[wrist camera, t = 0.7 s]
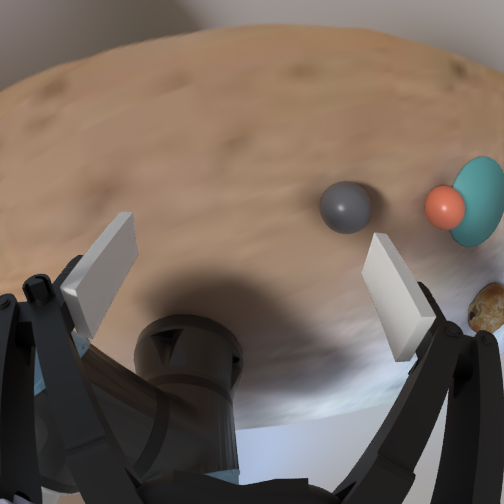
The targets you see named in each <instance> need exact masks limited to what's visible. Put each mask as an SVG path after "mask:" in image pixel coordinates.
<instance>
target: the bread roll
mask: <svg viewBox="0 0 504 504" xmlns="http://www.w3.org/2000/svg"><path fill="white" fill-rule="evenodd" d="M468 311H469V314H468V323H469V326H470V328H471V329H472V330H473V331H474V332H476V333H477V332H478V331H479V330H486V331H488V332H490V333H493V332H495V331H496V330H497V329H499V328H500V327H501V326H502V325H503V324H504V287H503V286H502V285H500V284H498V283H494V284H489V285H488V286H487V287H485V288H484V289H483V290H482V291H481V292H479V294H478V295H477V296H476V297H475V299H474V301H473V302H472V303H471V304H470V306H469V310H468Z"/></svg>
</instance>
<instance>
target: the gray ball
mask: <svg viewBox="0 0 504 504" xmlns="http://www.w3.org/2000/svg"><path fill="white" fill-rule="evenodd" d="M320 212H321V216H322V218H323V220H324V222H325V223H326V225H327V226H328V227H329V228H331V229H332V230H334V231H335V232H338V233H342V234H351V233H355V232H357V231H359V230H361V229H362V228H363V227H364V226H365V225H366V224H367V223H368V221H369V219H370V216H371V212H372V204H371V200H370V197H369V195H368V194H367V192H366V191H365V190H364V189H363V188H362V187H361V186H359V185H358V184H355V183H353V182H348V181H343V182H338V183H335V184H333V185H332V186H330V187H329V188H328V189H327V190H326V191H325V192H324V194H323V196H322V198H321V202H320Z"/></svg>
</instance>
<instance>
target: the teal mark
mask: <svg viewBox="0 0 504 504" xmlns="http://www.w3.org/2000/svg"><path fill="white" fill-rule="evenodd" d="M452 188H454V189H456V190H457V191H458V192H459V193H460V194H461V196H462V198H463V200H464V203H465V215H464V218H463V220H462V222H461V223H460V224H459V225H458V226H457V227H455V228H453V229H451V230H450V231H451V234H452V236H453V237H454V239H455V240H456V241H457V242H458V243H459V244H461V245H463V246H466V247H472V246H476V245H479V244H481V243H482V242H484V241H485V240H486V239H488V238H489V237H490V236H491V234H492V233H493V232H494V231H495V229H496V228H497V226H498V224H499V222H500V220H501V218H502V215H503V212H504V173H503V171H502V169H501V167H500V166H499V164H498V163H497V162H496V161H494V160H493V159H491V158H489V157H478V158H475V159H473V160H471V161H470V162H468V163H467V164H466V165H465V166H464V168H463V169H462V170H461V171H460V173H459V174H458V176H457V178H456V180H455V182H454V184H453V187H452Z"/></svg>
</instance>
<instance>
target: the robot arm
mask: <svg viewBox="0 0 504 504" xmlns="http://www.w3.org/2000/svg"><path fill="white" fill-rule="evenodd" d="M137 256H138V250H137V243H136V235H135V226H134V217H133V212H120V213H119V214H118V215H117V216H116V217H115V218H114V220H113V221H112V222H111V223H110V224H109V225H108V227H107V228H106V229H105V230H104V231H103V233H102V234H101V235H100V236H99V237H98V239H97V240H96V241H95V242H94V243H93V245H92V246H91V247H90V248H89V250H88V251H87V252H86V253H85V255H78V256H77V257H75V258H74V259H72V260H71V261H70V262H69V263H68V265H67V266H66V268H64V270H63V271H62V273H60V275H59V276H58V277H57V279H56V280H55V281H54V283H53V284H52V283H51V280H50V278H49V276H48V275H46V274H37V275H34V276H32V277H30V278H28V279H27V280H26V281H25V282H24V284H23V288H22V289H23V291H24V294H25V296H26V298H27V302H17V300H16V297H15V296H14V295H13V294H11V293H10V294H4V295H1V296H0V504H57V502H58V501H59V499H60V497H61V496H62V495H67V496H68V495H76V494H79V493H80V494H81V496H82V498H83V500H84V501H85V503H86V504H402V502H403V501H404V499H405V497H406V495H407V494H408V492H409V490H410V488H411V486H412V485H413V482H414V480H415V476H416V475H415V474H414V473H413V471H414V468H415V466H416V464H417V462H418V460H419V458H420V456H421V454H422V452H423V450H424V448H425V446H426V444H427V441H428V439H429V437H430V435H431V432H432V430H433V428H434V425H435V423H436V421H437V418H438V415H439V413H440V410H441V407H442V405H443V402H444V400H445V397H446V394H447V391H448V388H449V392H448V405H447V415H446V424H445V432H444V439H443V446H442V453H441V458H440V464H439V469H438V474H437V479H436V483H435V487H434V492H433V495H432V499H431V503H430V504H500V499H501V491H502V482H503V472H504V390H503V378H502V369H501V361H500V354H499V347H498V342H497V340H496V338H495V337H494V335H493V334H492V333H490V332H488V331H486V330H479V331H478V332H477V334H476V335H475V337H471V336H467V335H463V332H462V330H461V328H460V327H459V326H458V325H456V324H455V323H453V322H451V321H447V320H446V318H445V317H444V315H443V313H442V311H441V310H440V308H439V306H438V304H437V303H436V301H435V299H434V297H432V294H431V292H430V291H429V289H428V288H427V287H426V286H425V285H424V284H423V283H422V282H416V280H415V278H414V277H413V275H412V273H411V272H410V270H409V268H408V267H407V265H406V264H405V262H404V260H403V259H402V257H401V256H400V254H399V252H398V251H397V249H396V248H395V246H394V245H393V243H392V242H391V240H390V239H389V237H388V236H387V234H383V233H374V235H373V239H372V242H371V245H370V249H369V252H368V255H367V258H366V261H365V264H364V268H363V271H362V275H363V278H364V280H365V283H366V285H367V288H368V290H369V292H370V295H371V297H372V300H373V302H374V305H375V308H376V310H377V313H378V315H379V318H380V321H381V323H382V326H383V329H384V331H385V334H386V337H387V339H388V342H389V345H390V348H391V351H392V354H393V356H394V359H395V362H404V361H410V360H411V358H412V357H413V355H414V353H415V352H416V355H417V357H418V360H417V361H416V362H415V364H414V365H413V367H412V368H411V370H410V371H409V373H408V374H409V376H408V378H407V380H406V382H405V384H404V386H403V388H402V390H401V392H400V394H399V396H398V397H397V399H396V401H395V403H394V405H393V406H392V408H391V410H390V412H389V414H388V415H387V417H386V419H385V420H384V422H383V424H382V425H381V427H380V429H379V430H378V432H377V434H376V435H375V436H374V438H373V440H372V441H371V443H370V444H369V446H368V447H367V449H366V450H365V452H364V453H363V455H362V456H361V458H360V459H359V461H358V462H357V463H356V465H355V466H354V468H353V469H352V470H351V472H350V473H349V474H348V476H347V477H346V478H345V479H344V481H343V482H342V483H341V484H340V485H339V486H338V487H337V488H336V489H335V490H334V492H333V493H330V492H329V491H327V490H325V489H323V488H320V487H317V486H314V485H309V484H308V478H298V479H273V480H268V481H263V482H259V483H253V484H248V485H239V479H238V478H239V477H238V476H239V474H240V470H239V464H238V455H237V446H236V436H235V426H234V416H233V405H232V399H233V396H234V394H235V391H236V388H237V385H238V382H239V379H240V376H241V373H242V368H243V361H242V352H241V347H240V345H239V343H238V341H237V339H236V338H235V337H234V335H233V334H232V333H231V332H230V331H229V330H227V329H226V328H225V327H223V326H222V325H220V324H218V323H216V322H214V321H212V320H209V319H206V318H202V317H198V316H192V315H175V316H168V317H164V318H161V319H159V320H156V321H154V322H152V323H151V324H149V325H148V326H147V327H146V328H145V329H144V330H143V331H142V332H141V334H140V335H139V337H138V340H137V344H136V347H135V351H134V364H135V370H136V374H135V373H133V372H131V371H130V370H128V369H127V368H125V367H124V366H122V365H121V364H119V363H118V362H116V361H115V360H113V359H112V358H110V357H109V356H107V355H106V354H105V353H103V352H102V351H100V350H99V349H98V348H96V347H95V346H94V345H92V344H91V343H90V340H89V339H88V338H90V339H93V338H94V336H95V334H96V332H97V330H98V328H99V326H100V324H101V322H102V320H103V318H104V316H105V314H106V312H107V310H108V308H109V307H110V305H111V303H112V301H113V299H114V297H115V295H116V293H117V292H118V290H119V288H120V286H121V284H122V283H123V281H124V279H125V277H126V275H127V274H128V272H129V270H130V268H131V267H132V265H133V263H134V261H135V260H136V258H137ZM74 327H75V329H76V331H77V333H76V332H75V331H73V329H74Z"/></svg>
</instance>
